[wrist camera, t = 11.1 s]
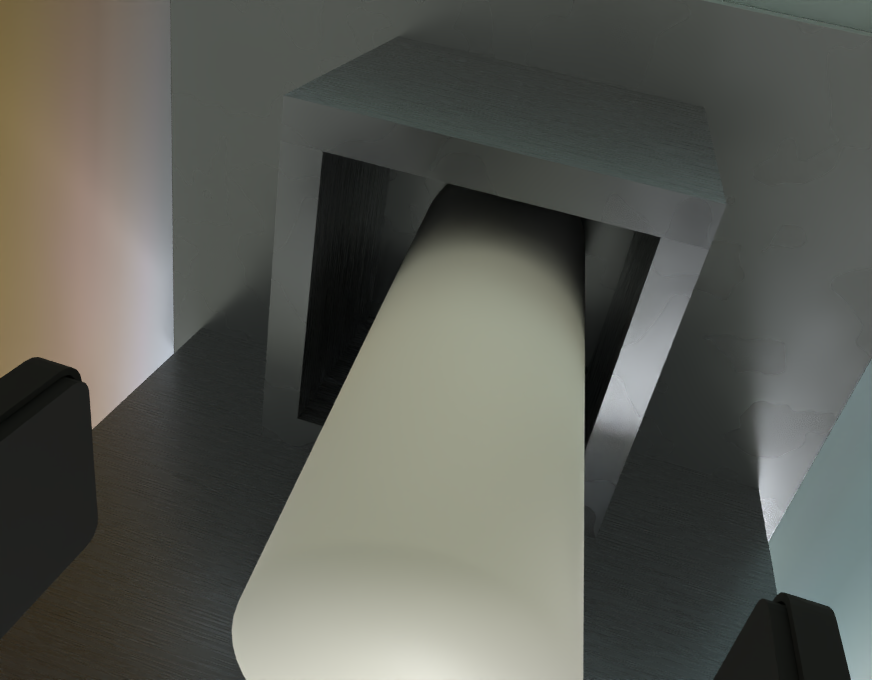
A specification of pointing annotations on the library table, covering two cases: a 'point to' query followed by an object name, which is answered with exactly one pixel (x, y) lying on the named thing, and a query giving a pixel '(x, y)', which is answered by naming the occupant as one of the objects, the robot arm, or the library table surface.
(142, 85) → the library table surface
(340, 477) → the off-white rounded cylinder
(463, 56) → the cup bracket
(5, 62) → the library table surface
